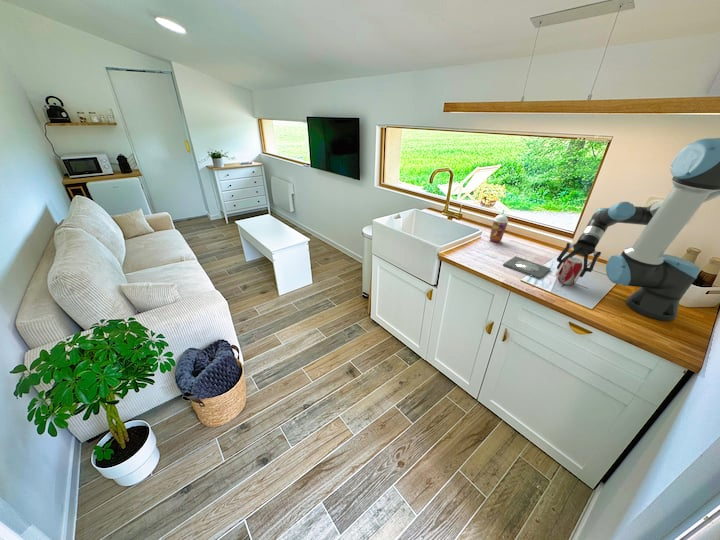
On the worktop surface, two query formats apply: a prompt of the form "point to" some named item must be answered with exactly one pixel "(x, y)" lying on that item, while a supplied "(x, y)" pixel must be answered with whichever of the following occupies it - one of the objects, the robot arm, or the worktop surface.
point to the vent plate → (527, 267)
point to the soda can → (570, 270)
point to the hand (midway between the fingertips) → (565, 278)
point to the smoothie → (498, 228)
